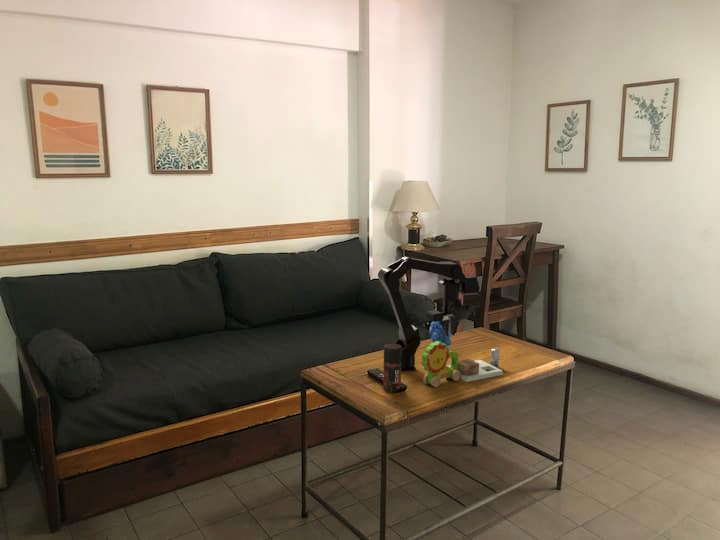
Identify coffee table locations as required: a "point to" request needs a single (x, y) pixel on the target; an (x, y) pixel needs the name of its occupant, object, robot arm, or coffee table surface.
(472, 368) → the brown wooden block
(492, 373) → the board
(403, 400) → the coffee table surface
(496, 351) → the pin
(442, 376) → the toy lion
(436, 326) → the grapes
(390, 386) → the deodorant
